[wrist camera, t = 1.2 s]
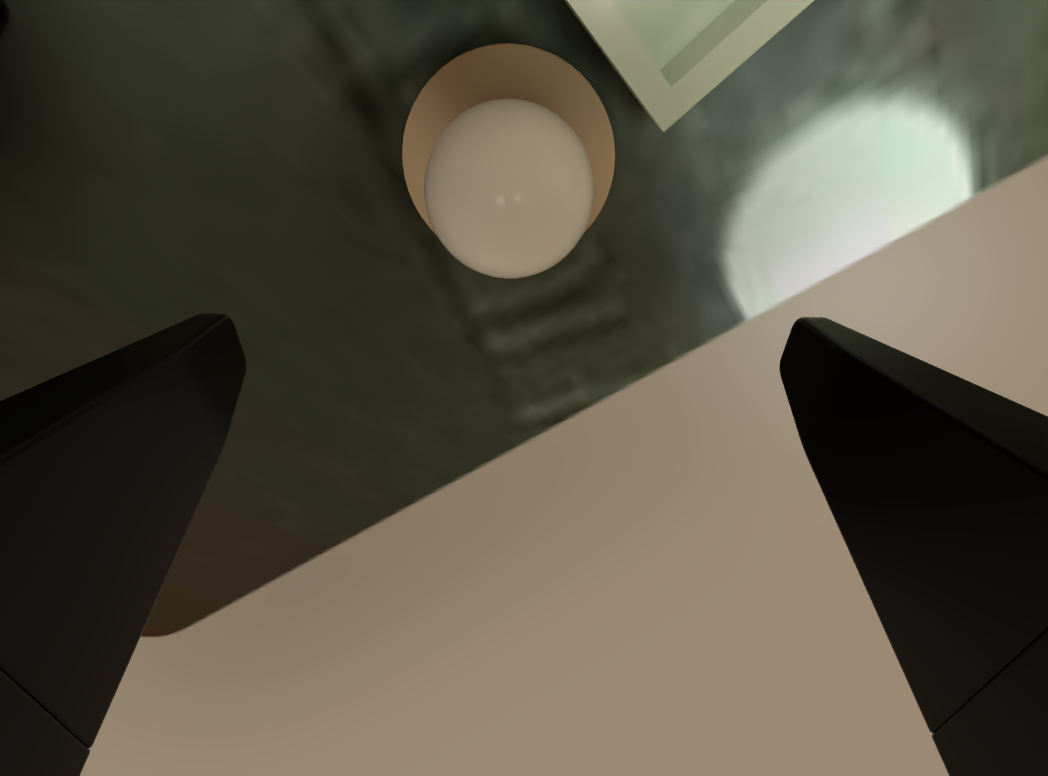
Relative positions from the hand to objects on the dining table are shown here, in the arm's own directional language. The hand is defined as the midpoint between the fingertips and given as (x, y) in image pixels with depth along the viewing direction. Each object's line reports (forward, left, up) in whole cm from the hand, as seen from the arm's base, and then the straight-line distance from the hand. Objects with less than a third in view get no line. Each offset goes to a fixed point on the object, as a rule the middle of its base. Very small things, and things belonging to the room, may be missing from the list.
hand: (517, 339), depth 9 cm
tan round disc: (-1, -1, -12) cm, 12 cm away
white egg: (-1, -1, -12) cm, 12 cm away
